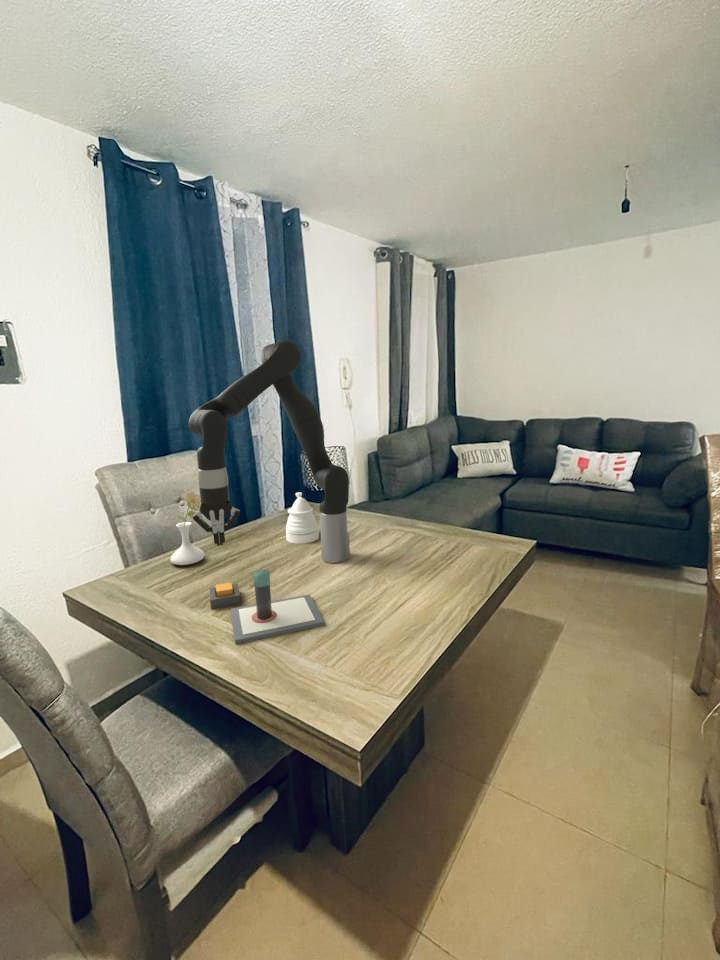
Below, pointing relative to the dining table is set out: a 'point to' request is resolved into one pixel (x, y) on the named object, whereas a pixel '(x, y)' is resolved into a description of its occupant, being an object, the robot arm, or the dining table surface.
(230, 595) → the button housing
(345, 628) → the dining table surface
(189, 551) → the flower in vase
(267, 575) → the marker
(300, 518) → the honey pot
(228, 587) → the button
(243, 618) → the drawing board
